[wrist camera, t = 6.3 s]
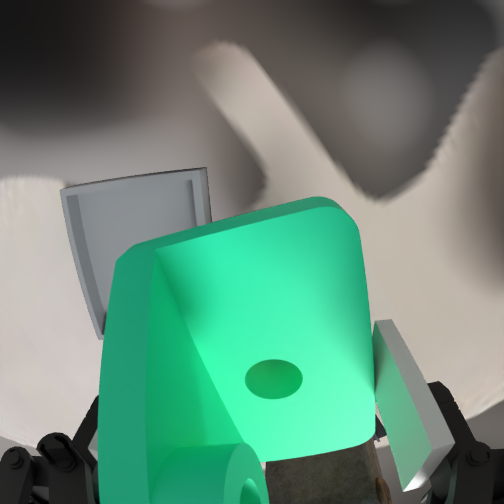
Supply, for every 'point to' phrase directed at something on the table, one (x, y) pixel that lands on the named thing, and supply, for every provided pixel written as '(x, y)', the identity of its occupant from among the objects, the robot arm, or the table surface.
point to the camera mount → (234, 355)
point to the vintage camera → (330, 476)
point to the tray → (127, 223)
